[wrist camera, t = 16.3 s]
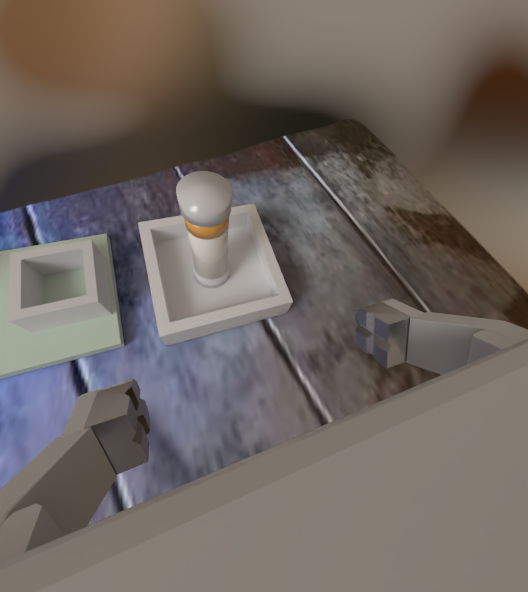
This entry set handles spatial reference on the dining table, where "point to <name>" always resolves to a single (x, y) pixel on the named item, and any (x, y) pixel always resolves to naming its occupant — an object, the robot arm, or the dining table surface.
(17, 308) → the fuse board
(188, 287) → the parts tray
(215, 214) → the orange-banded cylinder plug
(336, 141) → the dining table surface
